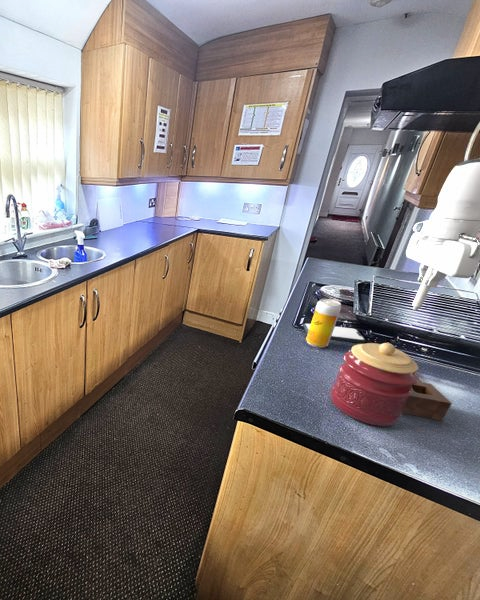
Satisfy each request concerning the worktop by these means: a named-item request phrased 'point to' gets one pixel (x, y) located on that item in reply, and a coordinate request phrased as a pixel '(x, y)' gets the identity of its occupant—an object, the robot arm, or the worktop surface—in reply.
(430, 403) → the pen stand
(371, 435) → the worktop surface
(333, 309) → the pint of beer
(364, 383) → the kitchen canister
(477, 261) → the robot arm
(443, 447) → the worktop surface
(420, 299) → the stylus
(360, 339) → the phone case
